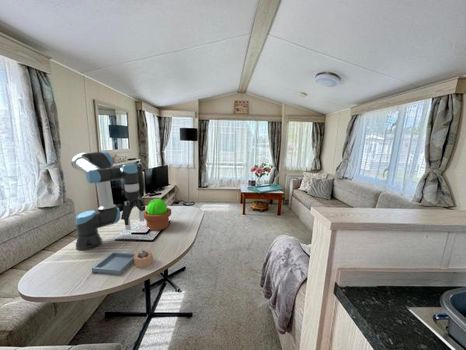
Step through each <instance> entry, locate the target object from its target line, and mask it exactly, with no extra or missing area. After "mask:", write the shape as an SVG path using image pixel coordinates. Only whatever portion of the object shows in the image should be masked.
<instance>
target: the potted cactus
mask: <svg viewBox="0 0 466 350" xmlns="http://www.w3.org/2000/svg"><path fill="white" fill-rule="evenodd" d="M171 215H172V209H171V208H170V207H168V206H167V202H166V201H164V200H163V199H161V198H160V197H159V198H155V199H152V200H150V201H149V203H148V204H147V206H146V209H145V211H144V220H145V221H146V228H147V227H149V228H150V230H149V231H154V230H157V231H160V230H159V229H162V230H165V229H166V228H168V227H169V226H170V221H169V220H170V218H169V217H171Z"/></svg>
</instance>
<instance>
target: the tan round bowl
mask: <svg viewBox="0 0 466 350" xmlns="http://www.w3.org/2000/svg"><path fill="white" fill-rule="evenodd" d="M145 251H146V257H144V258H141V256H140V252H141V251H139V252H136V253H135V254H136V255H134V262H133V264H134V267H135V268H138V267H140V268H139V269H141V268H142V269H143V268H146V266H147V267H148V266H149V267H150V265H151V264H152V263H153V261H154V259H153V252H152V251H151V250H145Z"/></svg>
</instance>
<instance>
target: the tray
mask: <svg viewBox="0 0 466 350" xmlns="http://www.w3.org/2000/svg"><path fill="white" fill-rule="evenodd" d="M136 254H137V253H131V252H122V251H121V252H119V251H112V252H110V253H109V254H108V255H107V256H106V257H104V258H103V259H101V260H100V261H99V262H98V263H96V264H94V265H93V266H92V267H91V273H92V274H107V275H117V276H118V275H119V276H121V275H122V274H123V273H124V272H125V271H127V269H128V268H129V267H130V266H131V265H132V264H134V255H136Z"/></svg>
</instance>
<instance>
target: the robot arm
mask: <svg viewBox="0 0 466 350" xmlns="http://www.w3.org/2000/svg"><path fill="white" fill-rule="evenodd" d="M70 163H71V164H70V165H71V167H72V168H73V169H75V171H78V172H81V173H83V174H85V179H86V180H87V182H88V183H89V184H96V188H97V195H98V202H99V207H98V208H97V211H95V210H86V211H83V212H81V213H79V214H77V215H76V216H75V226H76V233H77V237H76V238H77V239H76V242H75V249H76V250H79V251H87V250H92V249H94V248H96V247H98V246H100V245H101V244H102V243H103V241H102V237H101V235H100V234H99V230H98V229H100V228H104V227H107V226H111V225H114V224H117V223H119V221H120V220H122V221H123V220H124V225H125V231H132V225H131V218H130V216H131V213H132V210H133V209H134V208H135V207H137V209H138V217H139V222H144V221H145V219H144V211H146V209H147V206H145V203H144V200H143V199H142V195H140V194H141V193H140V184H139V183H140V182H139V171H138V166H137V164H135V163H127V164H123V165H122V166H121V165H119V166H116V167H113V166H114V161H113V158H112V156H111V154H110V153H109V152H107V151H92V152H91V151H90V152H89V151H88V152H86V151H85V152H81V153H78V154H76V155H75V156H73V158H71V162H70ZM119 180H120V181H121V180H123V184H124V191H125V192H124V195H125V198H126V199H127V200H126V201H123V208H122V211H120V208H119V207H117V205H116V204H114V199H113V193H112V192H113V191H112V187H111V182H112V181H119Z"/></svg>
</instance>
